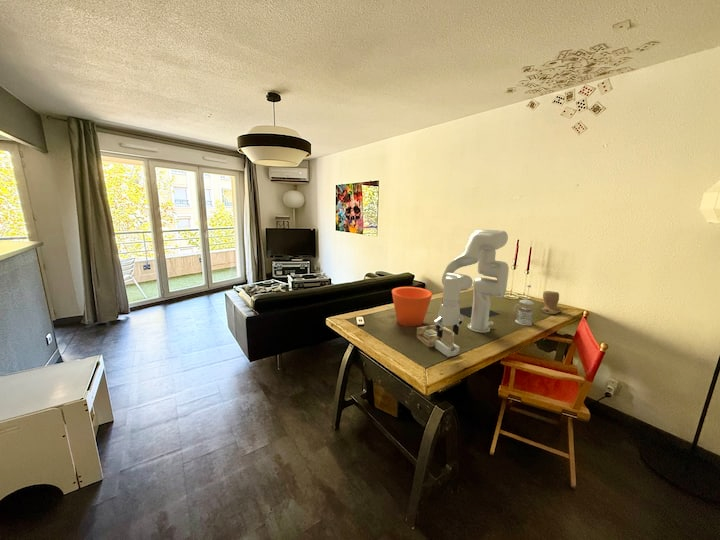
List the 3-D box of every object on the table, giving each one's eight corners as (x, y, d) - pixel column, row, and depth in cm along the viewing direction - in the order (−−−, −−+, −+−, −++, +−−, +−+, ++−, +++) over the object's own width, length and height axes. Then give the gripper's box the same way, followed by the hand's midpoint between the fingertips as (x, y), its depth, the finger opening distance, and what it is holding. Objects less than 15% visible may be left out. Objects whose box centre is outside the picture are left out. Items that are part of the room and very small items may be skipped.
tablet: (473, 319, 176) (451, 309, 194) (473, 320, 176) (451, 310, 194) (501, 314, 187) (478, 305, 205) (501, 315, 187) (478, 306, 205)
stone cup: (544, 307, 204) (547, 288, 201) (563, 312, 194) (566, 292, 191) (535, 311, 195) (538, 291, 192) (554, 316, 186) (557, 295, 183)
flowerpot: (409, 312, 189) (411, 284, 184) (438, 324, 169) (441, 294, 164) (382, 319, 174) (383, 290, 170) (410, 333, 154) (412, 300, 150)
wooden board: (443, 348, 138) (444, 326, 135) (452, 355, 131) (454, 332, 129) (439, 349, 137) (441, 327, 135) (449, 356, 131) (451, 333, 128)
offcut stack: (430, 337, 148) (430, 328, 147) (437, 342, 142) (438, 333, 141) (422, 338, 146) (423, 329, 145) (429, 344, 140) (430, 334, 139)
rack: (437, 335, 153) (438, 324, 151) (450, 344, 143) (451, 332, 141) (416, 339, 147) (417, 327, 146) (428, 348, 137) (429, 336, 136)
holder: (444, 346, 140) (445, 337, 139) (458, 356, 131) (459, 346, 130) (433, 348, 138) (434, 339, 137) (447, 358, 128) (448, 349, 127)
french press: (535, 326, 168) (541, 287, 163) (514, 324, 171) (520, 286, 166) (528, 320, 178) (534, 283, 173) (509, 318, 180) (514, 282, 175)
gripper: (459, 297, 135) (456, 329, 139) (430, 301, 129) (428, 334, 132) (470, 302, 129) (466, 335, 132) (440, 306, 122) (437, 341, 126)
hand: (447, 335), depth 132 cm, fingers open, 9 cm apart
